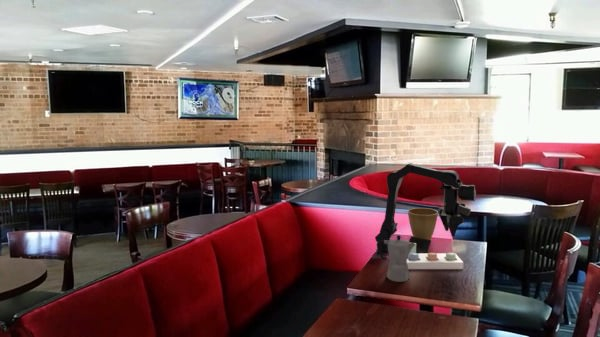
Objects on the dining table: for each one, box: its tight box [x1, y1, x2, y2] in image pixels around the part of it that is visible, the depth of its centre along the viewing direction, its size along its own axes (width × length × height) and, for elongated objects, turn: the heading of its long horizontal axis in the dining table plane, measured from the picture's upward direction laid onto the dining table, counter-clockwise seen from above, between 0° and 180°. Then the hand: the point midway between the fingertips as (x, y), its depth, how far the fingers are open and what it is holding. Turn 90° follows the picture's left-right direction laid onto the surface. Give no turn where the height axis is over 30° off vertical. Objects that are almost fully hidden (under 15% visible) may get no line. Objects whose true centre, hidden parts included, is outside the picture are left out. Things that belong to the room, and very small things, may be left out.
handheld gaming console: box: [408, 235, 432, 253], centre depth 225 cm, size 12×7×10 cm
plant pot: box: [407, 207, 439, 241], centre depth 238 cm, size 15×15×16 cm
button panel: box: [407, 243, 464, 270], centre depth 205 cm, size 24×12×8 cm, turn 87°
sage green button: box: [446, 252, 457, 260], centre depth 204 cm, size 4×4×4 cm
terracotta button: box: [428, 252, 437, 260], centre depth 204 cm, size 4×4×4 cm
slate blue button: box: [409, 253, 419, 261], centre depth 205 cm, size 4×4×4 cm
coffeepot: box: [376, 234, 415, 283], centre depth 190 cm, size 15×9×18 cm, turn 75°
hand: (449, 233), depth 207 cm, fingers open, 9 cm apart
